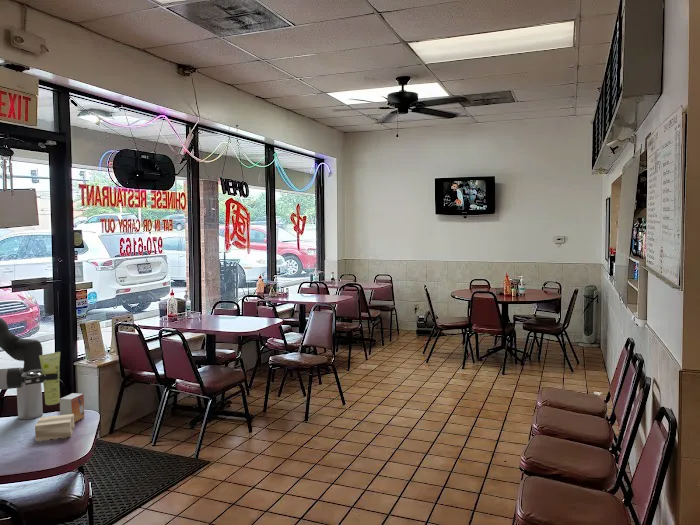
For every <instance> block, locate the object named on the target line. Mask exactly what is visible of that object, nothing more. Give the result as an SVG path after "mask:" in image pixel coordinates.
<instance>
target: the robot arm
mask: <svg viewBox="0 0 700 525" xmlns="http://www.w3.org/2000/svg"><path fill="white" fill-rule="evenodd" d="M0 348H1V350H3V351H4V352H5V353H6V354H7V355H9V356H10V357H11V358H12V359H13V360H16V361H19V362H23V367H10V368H0V390H9V389H10V390H11V389H16V398H17V399H16V401H17V402H16V403H17V404H16V405H17V417H18V419H20V420H32V419H36V418H40V417H42V415H44V411H43V407H44V406H43V392H42V389H43V388H42V384H43V382H44V381H46V380H56V379H58V374H57V373H54V374H42V369H41V363H40V359H39V355H44V354H43V346H42V343H41V342H40V341H39V340H38V339H32V338H31V339H30V338H21V337H19V336H17V335H15V334H14V333H13V332H11V331H10V329H9V326H8V324H7V322H6V321H5V320H4V319H3V318H2V317H0ZM59 376H61V371H60V369H59Z"/></svg>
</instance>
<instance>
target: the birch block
mask: <svg viewBox="0 0 700 525" xmlns="http://www.w3.org/2000/svg"><path fill="white" fill-rule="evenodd" d="M34 430H35V433H34V434H35V442H44V441H51V440H50V439H53V440H59V439H58V438H62V439H68V438H67V437H70V438H72V436H73V433H74V431H75V423H74V414H67V415H50V416H40V417H39V419H38V420H37V422H36V423H35V425H34ZM73 430H74V431H73ZM71 435H72V436H71ZM43 440H44V441H43Z"/></svg>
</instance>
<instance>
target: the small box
mask: <svg viewBox="0 0 700 525" xmlns="http://www.w3.org/2000/svg"><path fill="white" fill-rule="evenodd" d="M84 398H85V397H84V393H76V392H75V393H74V392H72V393H70V394H68V395H65V396H63V397H61V398H60V402H59V414H60V415H67V414H74V424H75V423H77V422H78V420H79V421H81V420H83V419H85V401H84V400H85V399H84ZM82 418H83V419H82ZM80 419H81V420H80ZM76 421H77V422H76Z"/></svg>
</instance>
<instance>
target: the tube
mask: <svg viewBox="0 0 700 525" xmlns="http://www.w3.org/2000/svg"><path fill="white" fill-rule="evenodd" d="M39 359H40V363H41V369H42V374H54V373H57V374H58V379H56V380H46V381H44V382H43V383H42V384H43V385H42V386H43V392H44V393H43V394H44V403H45V405H46V406H53V405H57V404H60V397H61V396H60V395H61V394H60V375H59V370H60V364H61V362H60V361H61V351H56V352H52V353H46V354H45V353H44V354H43V355H39Z"/></svg>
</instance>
